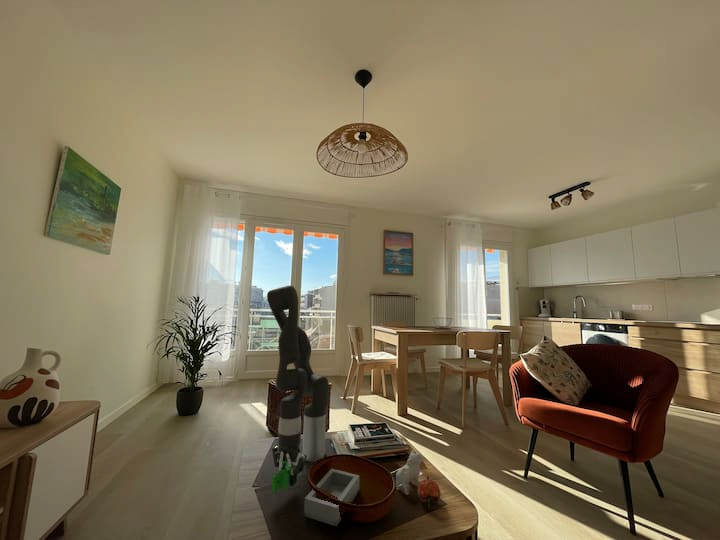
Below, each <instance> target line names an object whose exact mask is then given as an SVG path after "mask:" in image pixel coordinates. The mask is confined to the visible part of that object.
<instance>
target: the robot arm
mask: <svg viewBox="0 0 720 540" xmlns="http://www.w3.org/2000/svg"><path fill="white" fill-rule="evenodd" d="M266 299H267V303H268V305H269V309H270V310H271V313H272V315H273V316H274V319H275V320H276V321H275V322H277V324H278V326H279V329H280V335H279V338H278V352H279V353H278V355H279V364H278V369H277V370H278V371H277V374H276V379H275V384H276V388H277V390H278V391H280V392H291V391H293V392H292V393H291V394H290V395H287V396H285V397H283V398H282V399H281V400H280V405H279V406H280V408H279V421H278V431H277V445H276V446H275V447H273V448H272V449H271V452H272V457H273V463H274V464H273V465H274V467H275V468H278V471H279V472H280V471H281V470H283V469H284V468H286V467H287V466H288V467H289V468H290V483H289V487H292V488H293V487H294V486H295V485H296V484H297V483H298V482H297V474H298V475H299V474H300V473H301V472H303V469H304V466H305V464H306V461H307V462H318V461H317V460H319V459H321V458H322V459H324V457H325V453H326V452H325V451H326V412H327V411H326V410H327V408H328V403H329V402H328V401H329V389H330V385H329V380H328V378H327V377H326V376H324V375H320V374H316V373H315V372H314V371H313V369H312V366H311V363H310V359H311V355H312V345H311V343H310V342H311V341H310V340H309V337H308V335H307V332H306V331H305V330H304V329H302V327H300V326H298V324H299V323H298V322H299V296H298V292H297V289H296V288H295V287H294V286H293V285H285V286H281V287H277V288H274V289H271V290H269V291H268V292H267V295H266ZM286 310H288V313H287V314H286V312H285V311H286ZM291 364H293V366H294V368H292V369H291V368H289V369H288V366H289V365H291ZM304 395H305V396H307V397H310V398H312V399H311V403H309V404H307V405H305V406H304V409H303V431H302V414H301V413H302V401H303V397H304ZM302 432H303V435H302ZM301 440H302V441H301ZM301 442H302V452H301V450H300V444H301ZM322 459H321V460H322ZM319 461H320V460H319ZM287 464H288V465H287ZM293 467H294V468H293ZM296 482H297V483H296Z"/></svg>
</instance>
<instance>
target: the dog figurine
mask: <svg viewBox="0 0 720 540" xmlns="http://www.w3.org/2000/svg"><path fill="white" fill-rule="evenodd" d="M422 462H423V456H422V454H421V453H419V452H417V453H415V450H413V449H412V450H411V451H410V454H409V455H408V458H407V462H406V464H404V466H402V467H403V468H402V467H401V468H402V469H400V468H398V469H399V470H398V469H397V470H398V472H397V473H396V487H397V488H396V490H397V491H399V490H400V487H399V485H400V483H401V484H402V487H403V488H404V494H405V495H406V496H408V495H410V491H409V483H411V481H413V480H414V483H415V487H417V488H418V485H419V483H420V482H419V477H420V476H419V474H420V472H421V469H420V468H421V467H420V464H421V463H422Z"/></svg>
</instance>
